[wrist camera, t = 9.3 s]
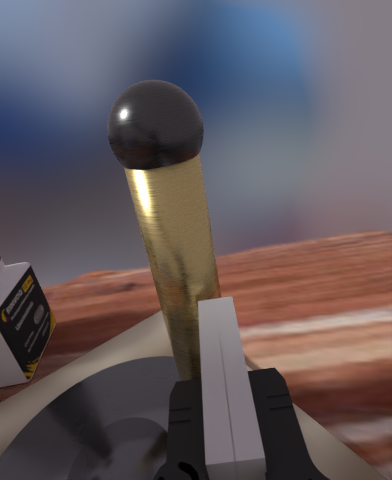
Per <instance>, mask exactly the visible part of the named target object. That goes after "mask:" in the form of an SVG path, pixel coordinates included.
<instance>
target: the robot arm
mask: <svg viewBox="0 0 392 480" xmlns="http://www.w3.org/2000/svg"><path fill="white" fill-rule="evenodd" d="M198 315H199V336H200V357H201V378H200V379H192V380H185V381H177V382H176V383H175V385H174V387H173V389H172V392H171V394H170V399H169V417H168V435H167V453H166V463H164V464H163V465H162V466H161V467H160V468H159V470H158V471H157V473H156V474H155V476H154V479H153V480H330V479H329V478H327V477H326V476H324V475H323V474H322V473H321V472H320V471H319V470H318V469H317V467H316V466H315V465H314V463H313V462H312V460H311V457H310V455H309V453H308V450H307V446H306V443H305V440H304V437H303V434H302V431H301V428H300V425H299V422H298V419H297V416H296V413H295V410H294V407H293V403H292V400H291V397H290V395H289V391H288V388H287V385H286V382H285V379H284V378H283V377H282V376H281V374H280V373H279V372H278V371H277V370H276V369H275V368H268V369H260V370H253V371H247V367H246V362H245V358H244V353H243V348H242V343H241V338H240V333H239V328H238V323H237V319H236V314H235V309H234V304H233V299H232V296H230V297H223V298H217V299H210V300H203V301H198Z"/></svg>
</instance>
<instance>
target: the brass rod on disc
mask: <svg viewBox="0 0 392 480" xmlns="http://www.w3.org/2000/svg"><path fill="white" fill-rule="evenodd" d="M107 133H108V140H109V144H110V147H111V149H112V151H113V153H114V155H115V157H116V158H117V160H118V161H119V162H120V163H121V165H122V166H123V167H124V168H125V173H126V177H127V180H128V184H129V188H130V192H131V196H132V199H133V203H134V207H135V211H136V215H137V219H138V222H139V226H140V230H141V233H142V237H143V241H144V245H145V249H146V253H147V257H148V260H149V264H150V268H151V272H152V276H153V280H154V283H155V287H156V291H157V295H158V299H159V302H160V306H161V310H162V314H163V318H164V321H165V325H166V329H167V333H168V337H169V340H170V344H171V348H172V352H173V356H174V357H172V356H157V357H146V358H140V359H134V360H130V361H126V362H123V363H119V364H116V365H114V366H111V367H108V368H105V369H103V370H101V371H99V372H97V373H95V374H93V375H90V376H89V377H87V378H85V379H83V380H82V381H80V382H78V383H76V384H75V385H73V386H72V387H70V388H69V389H67V390H66V391H65V392H63V393H62V394H60V395H59V396H58V397H56V398H55V399H54V400H53V401H51V402H50V403H49V404H48V405H46V406H45V407H44V408H43V409H42V410H41V411H40V412H39V413H38V414H37V415H36V416H35V417H33V418H32V419H31V420H30V421H29V423H28V424H27V425H26V426H25V427H24V428H23V429H22V430H21V431H20V432H19V433H18V434H17V436H16V437H15V438H14V439H13V441H12V442H11V443H10V444H9V446H8V447H7V448H6V449H5V451H4V452H3V453H2V455H1V456H0V480H153V479H154V476H155V474H156V473H157V471H158V470H159V468H160V467H161V466H162V465H163V464H164V463H166V453H167V435H168V417H169V399H170V394H171V392H172V389H173V387H174V385H175V383H176V382H177V381H185V380H192V379H200V378H201V357H200V336H199V315H198V301H203V300H210V299H217V298H222V297H221V291H220V284H219V278H218V271H217V265H216V258H215V252H214V246H213V239H212V233H211V226H210V219H209V213H208V206H207V200H206V193H205V187H204V180H203V174H202V168H201V161H200V154H199V152H200V150H201V147H202V142H203V133H204V130H203V122H202V118H201V115H200V112H199V110H198V108H197V106H196V104H195V103H194V101H193V100H192V99H191V97H190V96H189V95H187V93H186V92H184V91H183V90H182V89H180V88H179V87H178V86H175V85H174V84H171V83H169V82H166V81H160V80H147V81H142V82H138V83H136V84H134V85H132V86H130V87H128V88H127V89H126V90H125V91H123V92H122V93H121V94H120V95H119V97H118V98H117V99H116V101H115V102H114V104H113V106H112V108H111V111H110V113H109V117H108V123H107Z"/></svg>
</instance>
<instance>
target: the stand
mask: <svg viewBox="0 0 392 480" xmlns="http://www.w3.org/2000/svg"><path fill="white" fill-rule="evenodd" d="M157 356H172V357H174V356H173V352H172V348H171V344H170V340H169V337H168V333H167V329H166V325H165V321H164V318H163V314H162V310H161V311H159V312H157V313H156V314H154V315H152V316H150V317H149V318H147V319H145V320H143V321H142V322H140V323H138V324H136V325H135V326H133V327H131V328H129V329H128V330H126V331H124V332H122V333H121V334H119V335H117V336H115V337H114V338H112V339H110V340H108V341H107V342H105V343H103V344H101V345H100V346H98V347H96V348H95V349H93V350H91V351H89V352H88V353H86V354H84V355H82V356H81V357H79V358H77V359H75V360H74V361H72V362H70V363H68V364H67V365H65V366H63V367H61V368H60V369H58V370H56V371H54V372H53V373H51V374H49V375H47V376H46V377H44V378H42V379H40V380H39V381H37V382H35V383H34V384H32V385H30V386H28V387H27V388H25V389H23V390H21V391H20V392H18V393H16V394H14V395H13V396H11V397H9V398H7V399H6V400H4V401H2V402H0V456H1V455H2V453H3V452H4V451H5V449H6V448H7V447H8V446H9V444H10V443H11V442H12V441H13V439H14V438H15V437H16V436H17V434H18V433H19V432H20V431H21V430H22V429H23V428H24V427H25V426H26V425H27V424H28V423H29V421H30V420H31V419H32V418H33V417H35V416H36V415H37V414H38V413H39V412H40V411H41V410H42V409H43V408H44V407H45V406H46V405H48V404H49V403H50V402H51V401H53V400H54V399H55V398H56V397H58V396H59V395H60V394H62V393H63V392H65V391H66V390H67V389H69V388H70V387H72V386H73V385H75V384H76V383H78V382H80V381H82V380H83V379H85V378H87V377H89V376H90V375H93V374H95V373H97V372H99V371H101V370H103V369H105V368H108V367H111V366H114V365H116V364H119V363H123V362H126V361H130V360H134V359H140V358H146V357H157ZM246 367H247V371H253V370H252V369H251V368H249V367H248V366H247V365H246ZM292 403H293V402H292ZM293 407H294V410H295V413H296V416H297V419H298V422H299V425H300V428H301V431H302V434H303V437H304V440H305V443H306V446H307V450H308V453H309V455H310V457H311V460H312V462H313V463H314V465H315V466H316V467H317V469H318V470H319V471H320V472H321V473H322V474H323V475H324V476H326V477H327V478H329V479H330V480H388V479H386V478H385V477H384V476H383V475H381V474H380V473H379V472H378V471H377V470H375V469H374V468H373V467H372V466H370V465H369V464H368V463H367V462H365V461H364V460H363V459H362V458H360V457H359V456H358V455H357V454H356V453H354V452H353V451H352V450H351V449H349V448H348V447H347V446H346V445H344V444H343V443H342V442H341V441H340V440H338V439H337V438H336V437H335V436H333V435H332V434H331V433H330V432H328V431H327V430H326V429H325V428H323V427H322V426H321V425H320V424H319V423H317V422H316V421H315V420H314V419H312V418H311V417H310V416H309V415H307V414H306V413H305V412H304V411H303V410H301V409H300V408H299V407H298V406H296V405H295V404H294V403H293Z"/></svg>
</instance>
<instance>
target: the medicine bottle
mask: <svg viewBox="0 0 392 480" xmlns="http://www.w3.org/2000/svg"><path fill="white" fill-rule="evenodd" d="M55 325H56V320H55V318H54V315H53V313H52V311H51V309H50V307H49V304H48V302H47V300H46V298H45V296H44V293H43V291H42V289H41V287H40V285H39V283H38V280H37V278H36V276H35V274H34V272H33V269H32V267H31V265H30V264H29V263H28V262H23V263H18V264H12V265H8V266H5V265H4V263H3V261H2V259H1V257H0V388H1V387H6V386H11V385H17V384H22V383H27V382H29V381H30V380H31V379H32V377H33V375H34V372H35V370H36V368H37V366H38V363H39V361H40V359H41V357H42V354H43V352H44V350H45V348H46V345H47V343H48V341H49V339H50V336H51V334H52V332H53V330H54V328H55Z"/></svg>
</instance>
